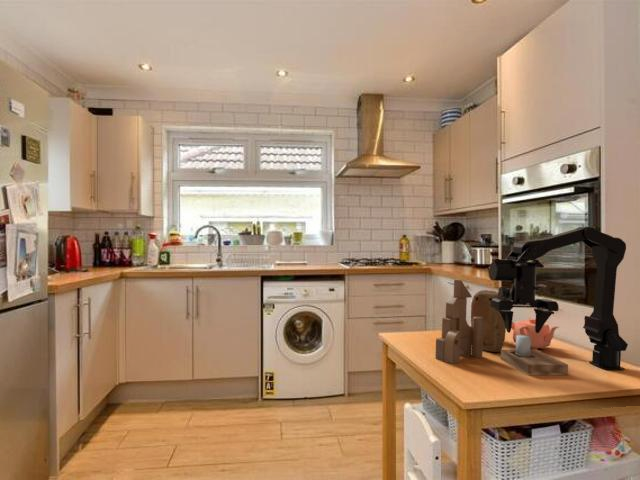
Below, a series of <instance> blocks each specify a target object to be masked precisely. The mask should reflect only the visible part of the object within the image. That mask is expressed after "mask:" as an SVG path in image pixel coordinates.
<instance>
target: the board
mask: <svg viewBox="0 0 640 480" xmlns="http://www.w3.org/2000/svg"><path fill="white" fill-rule="evenodd" d="M515 352H516V349H501V351H500V359H501V361H503V362H505V363H507V364H508V365H510V366H512V367H514V368H515V369H517V370H519V371H520V372H522V373H524V374H525V375H527V376H568V375H569V364H567V363H565V362H563V361H561V360H560V359H557V358H555V357H553V356H551V355H549V354H547V353H544V352H542V351H540V350H531V349H530V357H518V356H516V355H515Z"/></svg>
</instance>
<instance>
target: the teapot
mask: <svg viewBox="0 0 640 480" xmlns="http://www.w3.org/2000/svg"><path fill="white" fill-rule="evenodd" d="M535 321H536V318H529V319H528V320H527V319H524V320H518V321H516V322H515V323H514V321H512V327H511V330H513V332H512V340H513V342H514V343H516V335H524V336H529V337H531V348H530V350H538V349H541V350H545V349H546V347H550V345H551V342H552V340H553V338H554V334H555V331H556V330H557V329H558V328H559V326H552V327H551V328H550V325H549V324H547V323H545V324H544V325H543V327H542V329H541V330H540V332H539V333H536V332H535ZM538 351H539V350H538Z"/></svg>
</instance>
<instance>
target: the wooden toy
mask: <svg viewBox="0 0 640 480" xmlns="http://www.w3.org/2000/svg"><path fill="white" fill-rule="evenodd" d="M469 298H473V297H472V294H471V293H470V291H469V290H468V287H466V285H465V284H464V282H463V280H461V279H457V278H455V279H454V280H453V296H449V298H448V299H447V301H446V302H445V317H442V320H441V321H442V323H441V337H438V338H436V339H435V359H436V360H439V361H441V362H445V363H448V364H450V365H454V364H459V363H460V356H462V357H468V355H469V356H471V357H473V358H476V359H481V358H483V351H484V350H483V325H484V319H483V318H482V317H473V332H472V327H470V324H468V322H467V303H468V299H469Z"/></svg>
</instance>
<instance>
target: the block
mask: <svg viewBox="0 0 640 480" xmlns="http://www.w3.org/2000/svg"><path fill="white" fill-rule="evenodd" d="M493 298H504V297H499V295H498V292H497V291H496V290H483V289H482V290H480V291H477V292H475V293H474V295H473V297H472V299H471V300H472V303H471V302H470V311H471V327H472V332H473V317H482V318H483V319H484V325H483V351H485V352H486V351H487V352H491V353H498V352H501V350H503V348H504V347H503V346H504V344H505V340H506V332H507V330H506V327H505V324H504V321H503V318H502V316H501V314H500V313H499V311H497V310H495V308H493V307H490V304H491V300H492V299H493Z"/></svg>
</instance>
